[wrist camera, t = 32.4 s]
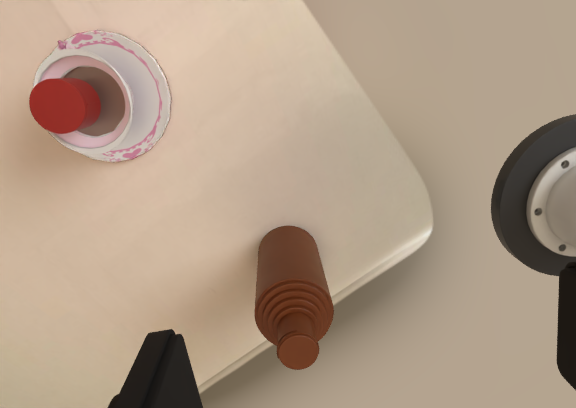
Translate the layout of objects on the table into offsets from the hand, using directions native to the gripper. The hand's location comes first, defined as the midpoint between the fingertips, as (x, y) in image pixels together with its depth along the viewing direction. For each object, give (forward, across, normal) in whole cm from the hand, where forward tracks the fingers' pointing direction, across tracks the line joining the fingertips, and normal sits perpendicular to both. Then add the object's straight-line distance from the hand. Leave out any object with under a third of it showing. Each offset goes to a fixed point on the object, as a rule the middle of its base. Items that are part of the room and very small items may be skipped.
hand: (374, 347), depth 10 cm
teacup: (+33, +17, -7) cm, 38 cm away
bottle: (+33, +3, +12) cm, 35 cm away
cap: (+27, +17, -7) cm, 33 cm away
